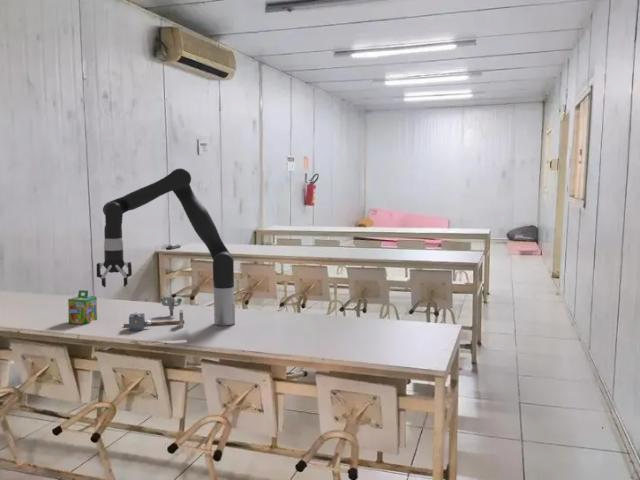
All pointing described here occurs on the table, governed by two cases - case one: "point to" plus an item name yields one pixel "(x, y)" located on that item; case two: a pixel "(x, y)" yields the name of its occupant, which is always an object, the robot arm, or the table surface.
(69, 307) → the chalk box
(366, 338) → the table surface
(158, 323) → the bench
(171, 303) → the mechanical component
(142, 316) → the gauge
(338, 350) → the table surface
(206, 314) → the table surface
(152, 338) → the table surface
